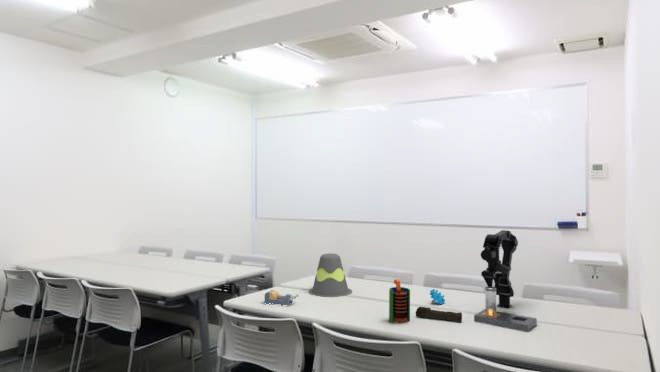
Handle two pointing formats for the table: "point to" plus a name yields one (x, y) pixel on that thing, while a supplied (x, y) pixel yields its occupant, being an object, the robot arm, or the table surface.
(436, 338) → the table surface
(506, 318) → the plate
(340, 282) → the traffic cone
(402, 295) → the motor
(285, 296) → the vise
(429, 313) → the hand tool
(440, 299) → the gear
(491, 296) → the steel plug
